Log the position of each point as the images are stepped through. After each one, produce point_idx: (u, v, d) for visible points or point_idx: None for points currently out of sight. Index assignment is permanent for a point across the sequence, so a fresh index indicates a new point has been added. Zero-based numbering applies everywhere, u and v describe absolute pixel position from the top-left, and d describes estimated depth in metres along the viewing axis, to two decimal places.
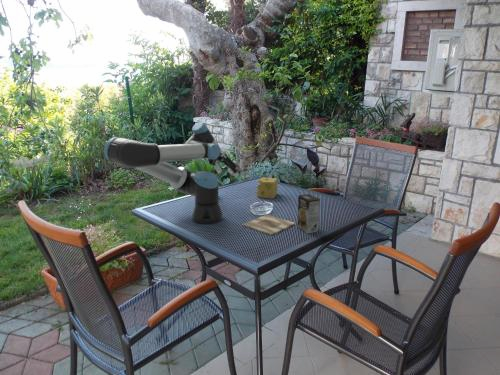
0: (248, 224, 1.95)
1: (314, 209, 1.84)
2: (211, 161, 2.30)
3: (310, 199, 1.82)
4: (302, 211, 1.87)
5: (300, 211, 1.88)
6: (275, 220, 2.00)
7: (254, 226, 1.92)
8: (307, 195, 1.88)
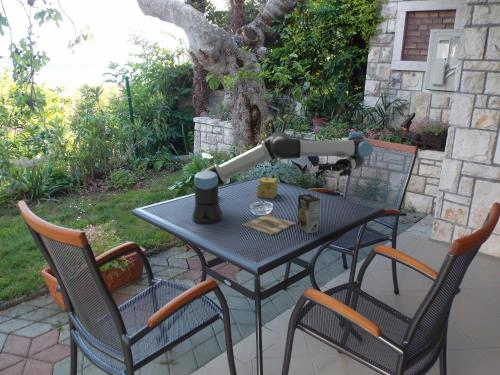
0: (248, 224, 1.95)
1: (314, 209, 1.84)
2: None
3: (310, 199, 1.82)
4: (302, 211, 1.87)
5: (300, 211, 1.88)
6: (275, 220, 2.00)
7: (254, 226, 1.92)
8: (307, 195, 1.88)
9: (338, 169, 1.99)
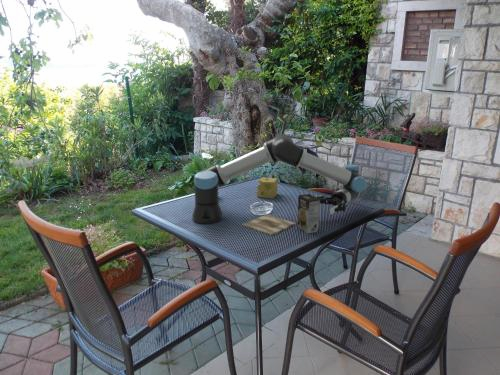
0: (248, 224, 1.95)
1: (314, 209, 1.84)
2: None
3: (310, 199, 1.82)
4: (302, 211, 1.87)
5: (300, 211, 1.88)
6: (275, 220, 2.00)
7: (254, 226, 1.92)
8: (307, 195, 1.88)
9: (333, 203, 2.00)
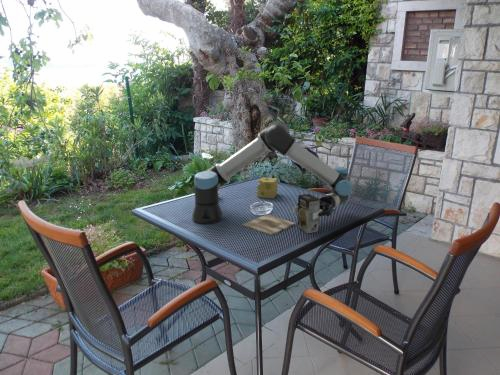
0: (248, 224, 1.95)
1: (314, 209, 1.84)
2: None
3: (310, 199, 1.82)
4: (302, 211, 1.87)
5: (300, 211, 1.88)
6: (275, 220, 2.00)
7: (254, 226, 1.92)
8: (307, 195, 1.88)
9: (321, 207, 1.93)
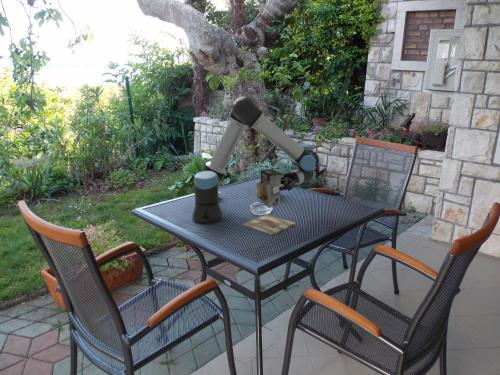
0: (248, 224, 1.95)
1: (275, 183, 1.86)
2: None
3: (270, 173, 1.84)
4: (263, 185, 1.89)
5: (262, 186, 1.90)
6: (275, 220, 2.00)
7: (254, 226, 1.92)
8: (269, 170, 1.90)
9: (284, 183, 1.95)
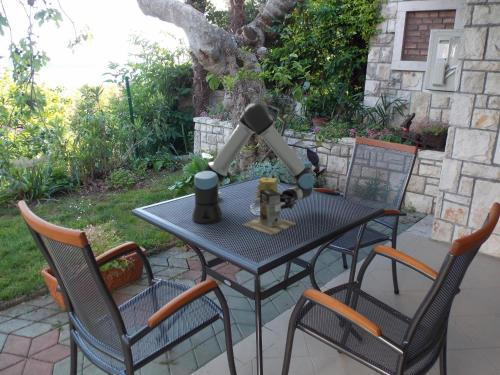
0: (248, 224, 1.95)
1: (274, 203, 1.89)
2: None
3: (270, 194, 1.87)
4: (263, 205, 1.92)
5: (262, 206, 1.93)
6: None
7: (254, 226, 1.92)
8: (268, 190, 1.93)
9: (283, 200, 1.98)
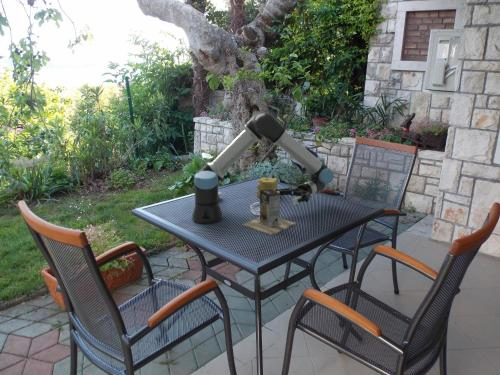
0: (248, 224, 1.95)
1: (274, 203, 1.89)
2: None
3: (270, 194, 1.87)
4: (263, 205, 1.92)
5: (262, 206, 1.93)
6: None
7: (254, 226, 1.92)
8: (268, 190, 1.93)
9: (298, 194, 2.07)
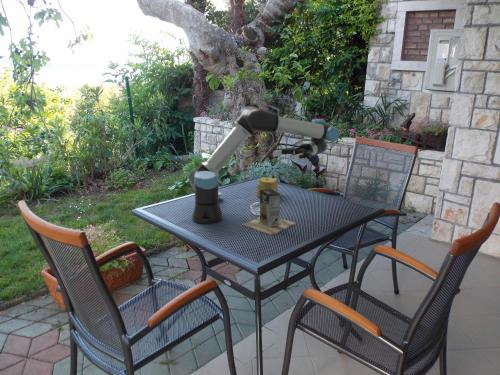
0: (248, 224, 1.95)
1: (274, 203, 1.89)
2: None
3: (270, 194, 1.87)
4: (263, 205, 1.92)
5: (262, 206, 1.93)
6: None
7: (254, 226, 1.92)
8: (268, 190, 1.93)
9: (300, 153, 2.14)
